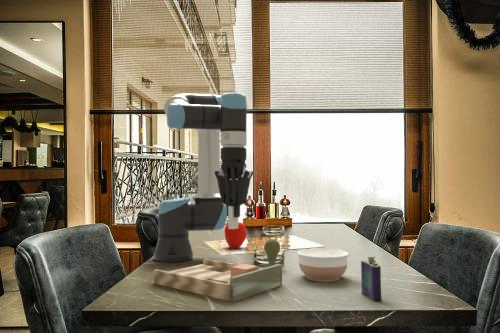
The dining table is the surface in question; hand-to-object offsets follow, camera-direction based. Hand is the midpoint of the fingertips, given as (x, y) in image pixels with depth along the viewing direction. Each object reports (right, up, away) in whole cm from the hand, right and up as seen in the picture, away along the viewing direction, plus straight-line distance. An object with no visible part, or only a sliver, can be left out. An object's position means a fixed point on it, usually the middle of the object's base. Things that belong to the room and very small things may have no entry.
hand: (233, 228), depth 124 cm
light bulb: (+13, -18, +26) cm, 34 cm away
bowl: (+28, -17, +12) cm, 35 cm away
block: (+3, -14, -3) cm, 15 cm away
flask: (+37, -17, -11) cm, 42 cm away
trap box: (-5, -17, +3) cm, 18 cm away
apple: (-2, -19, +69) cm, 72 cm away
